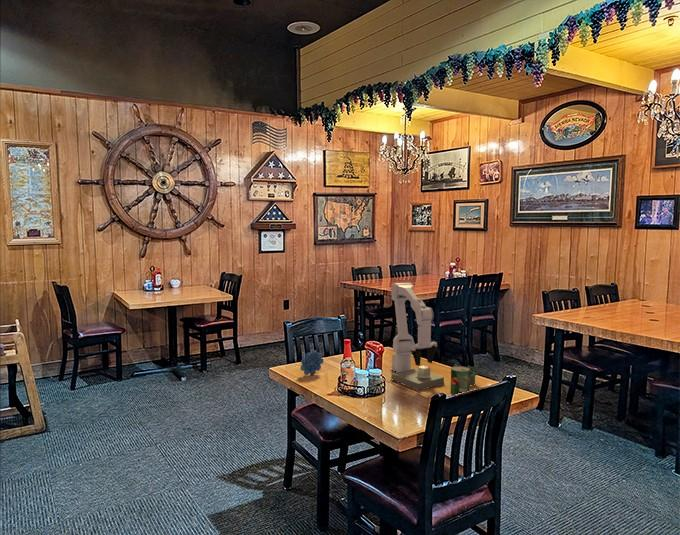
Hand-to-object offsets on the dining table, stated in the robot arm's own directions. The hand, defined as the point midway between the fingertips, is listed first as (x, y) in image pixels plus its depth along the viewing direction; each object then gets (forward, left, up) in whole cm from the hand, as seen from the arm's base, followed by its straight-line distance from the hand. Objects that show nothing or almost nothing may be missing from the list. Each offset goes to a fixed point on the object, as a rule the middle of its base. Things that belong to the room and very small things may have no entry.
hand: (423, 364), depth 227 cm
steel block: (0, 0, -9) cm, 9 cm away
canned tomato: (+18, +4, -10) cm, 21 cm away
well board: (-4, 0, -9) cm, 10 cm away
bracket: (+10, +17, -10) cm, 22 cm away
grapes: (-42, -34, -10) cm, 55 cm away
